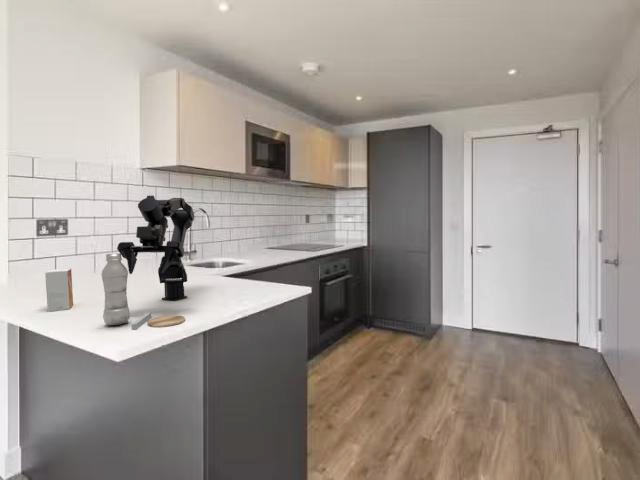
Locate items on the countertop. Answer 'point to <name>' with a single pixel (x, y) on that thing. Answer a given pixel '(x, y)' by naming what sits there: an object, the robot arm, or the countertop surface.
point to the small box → (59, 289)
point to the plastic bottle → (115, 291)
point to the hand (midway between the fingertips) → (146, 273)
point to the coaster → (166, 321)
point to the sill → (141, 321)
